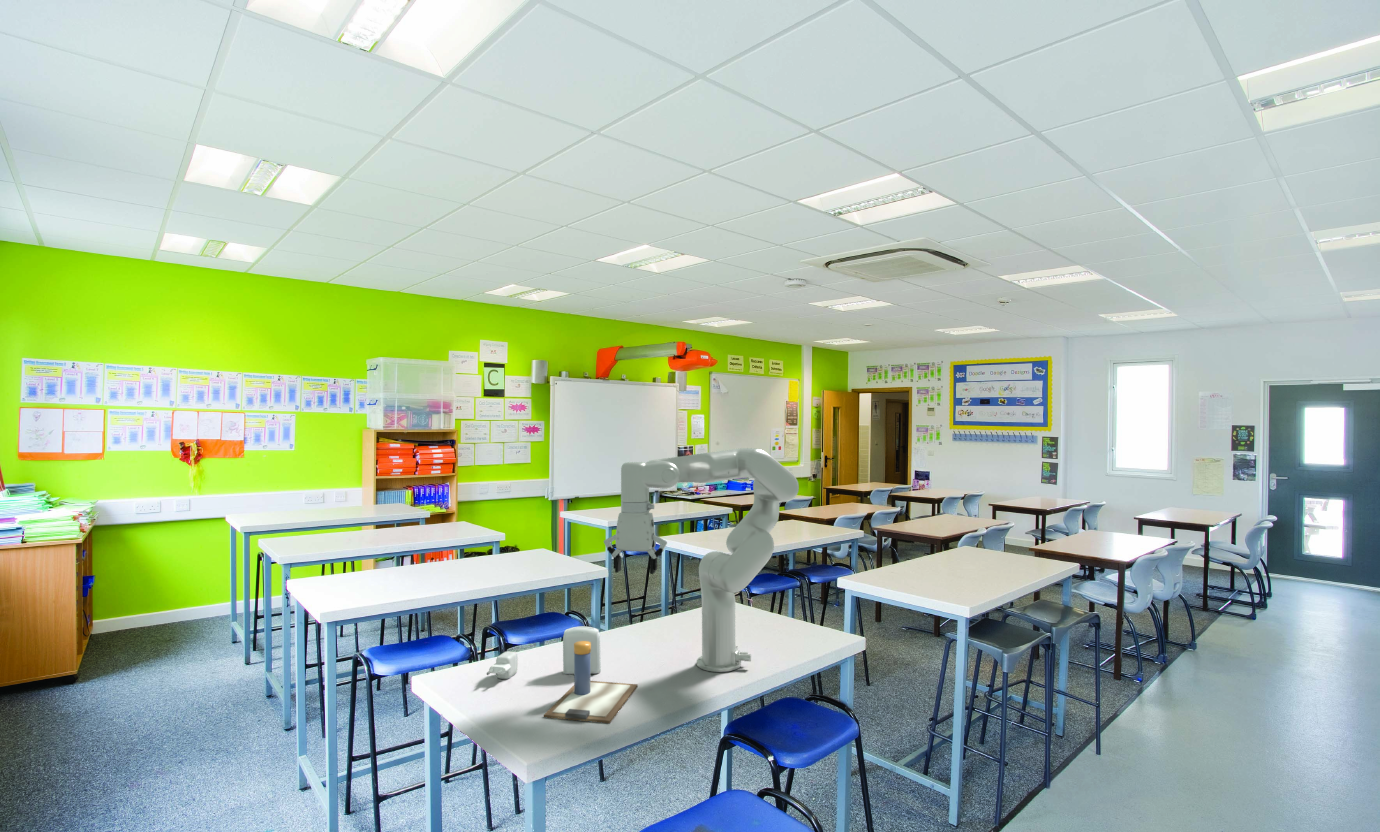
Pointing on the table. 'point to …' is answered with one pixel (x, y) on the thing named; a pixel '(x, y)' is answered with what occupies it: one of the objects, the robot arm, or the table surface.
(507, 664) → the power adapter
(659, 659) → the table surface
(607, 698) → the clipboard
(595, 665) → the photo printer
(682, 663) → the table surface
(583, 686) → the cylinder
